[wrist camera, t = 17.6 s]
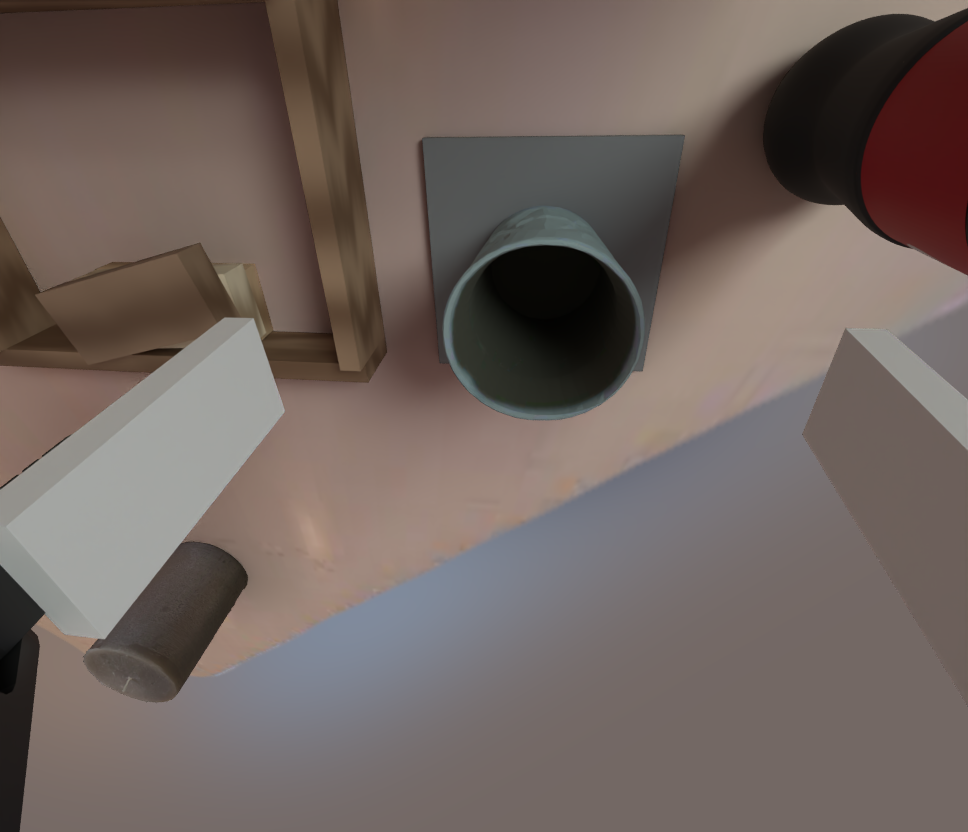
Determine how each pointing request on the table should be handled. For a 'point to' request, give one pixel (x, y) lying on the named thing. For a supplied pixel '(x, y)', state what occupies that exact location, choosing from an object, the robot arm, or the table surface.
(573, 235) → the grey cup
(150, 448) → the robot arm
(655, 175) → the charcoal mat
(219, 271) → the birch offcut
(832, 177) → the cola bottle
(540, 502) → the table surface
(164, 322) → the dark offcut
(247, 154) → the table surface
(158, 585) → the pillar candle
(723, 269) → the table surface
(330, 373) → the frame
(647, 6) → the table surface
